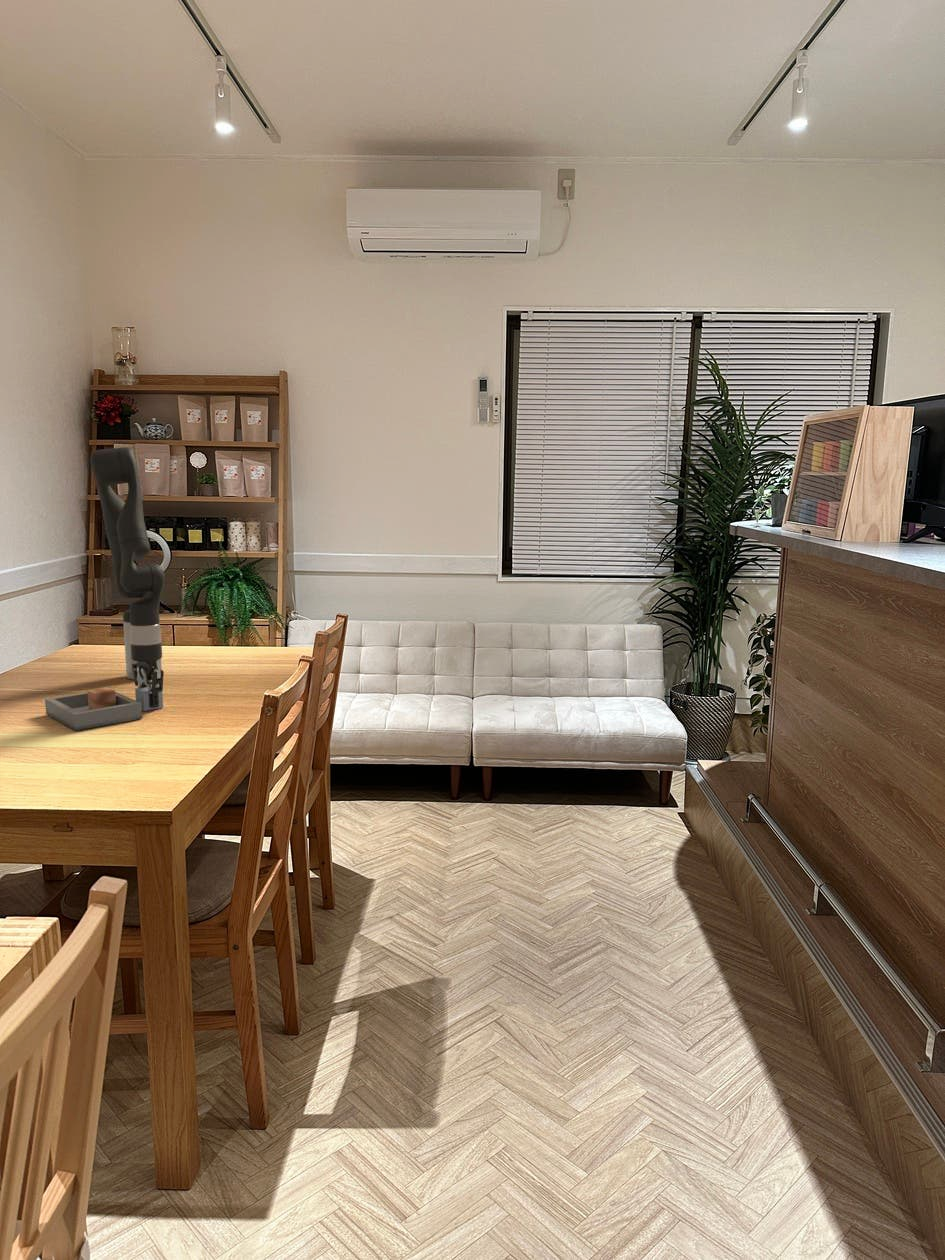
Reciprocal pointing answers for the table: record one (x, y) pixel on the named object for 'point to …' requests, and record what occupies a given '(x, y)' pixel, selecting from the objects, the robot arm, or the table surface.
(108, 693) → the terracotta block
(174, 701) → the table surface
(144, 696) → the grey block
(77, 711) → the charcoal tray
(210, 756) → the table surface
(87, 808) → the table surface
